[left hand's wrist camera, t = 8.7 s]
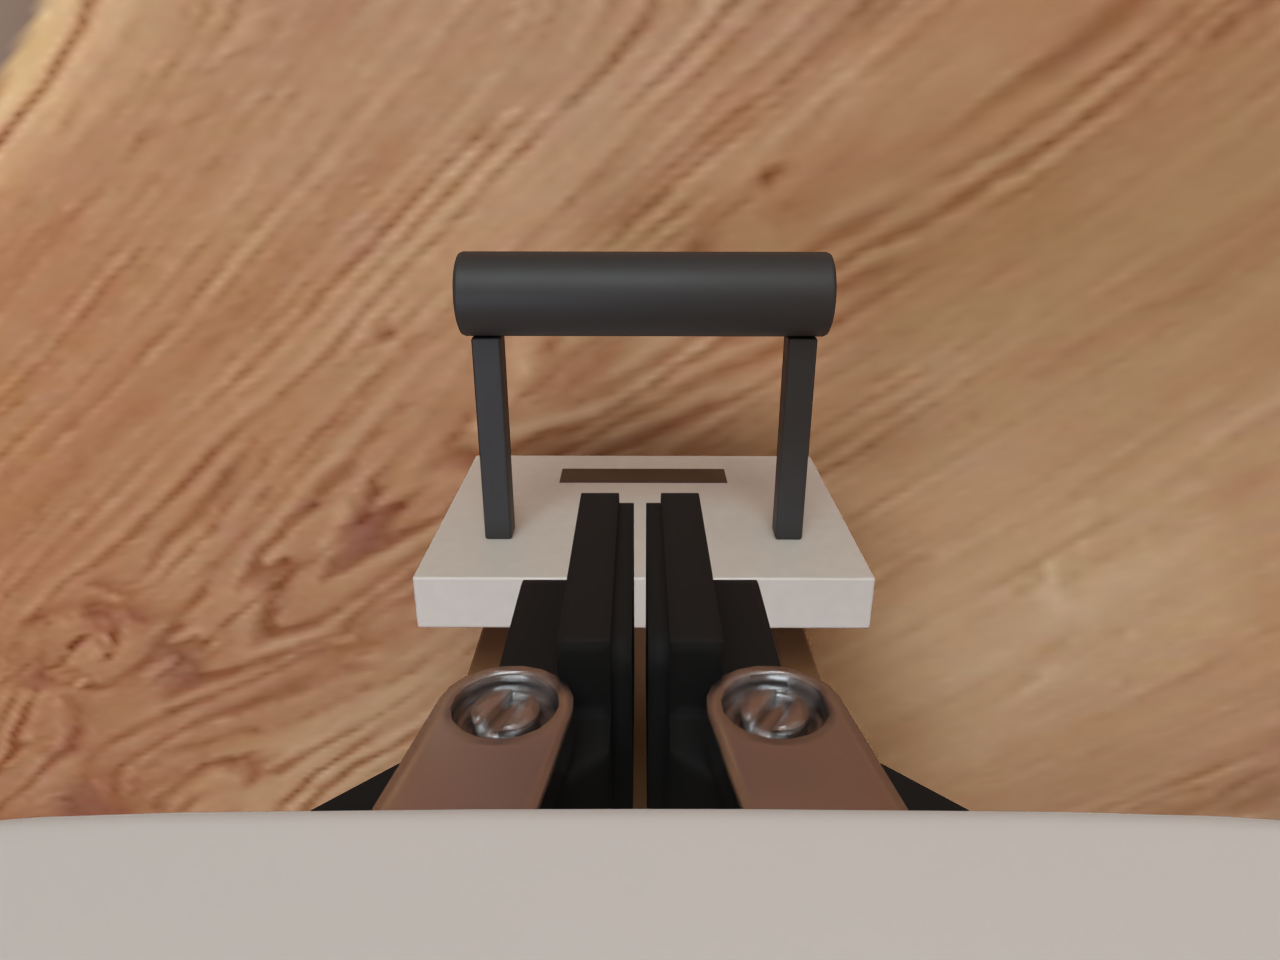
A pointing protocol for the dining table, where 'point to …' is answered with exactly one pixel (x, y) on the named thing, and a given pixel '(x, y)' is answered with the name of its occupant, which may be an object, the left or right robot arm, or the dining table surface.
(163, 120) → the dining table surface
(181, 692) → the dining table surface
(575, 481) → the drawer
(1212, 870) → the left robot arm
